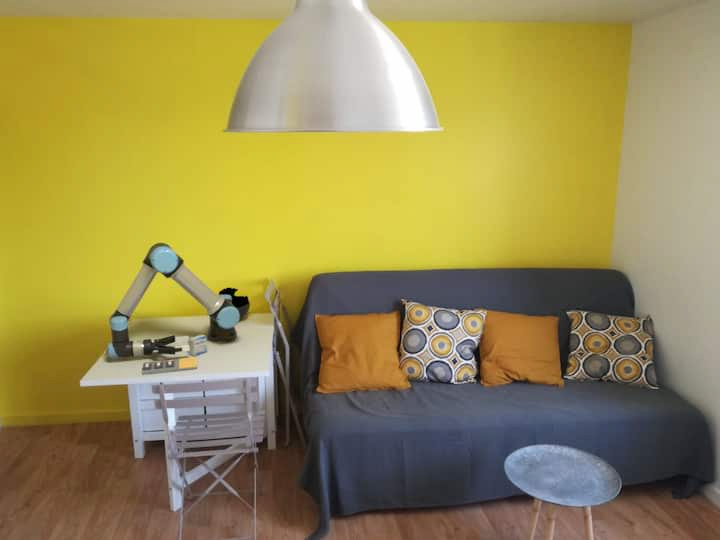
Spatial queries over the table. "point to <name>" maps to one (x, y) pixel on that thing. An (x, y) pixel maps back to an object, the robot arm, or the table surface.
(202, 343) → the medicine box
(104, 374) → the table surface
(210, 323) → the robot arm
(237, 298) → the bowl of black rocks
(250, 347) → the table surface
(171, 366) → the breaker panel
